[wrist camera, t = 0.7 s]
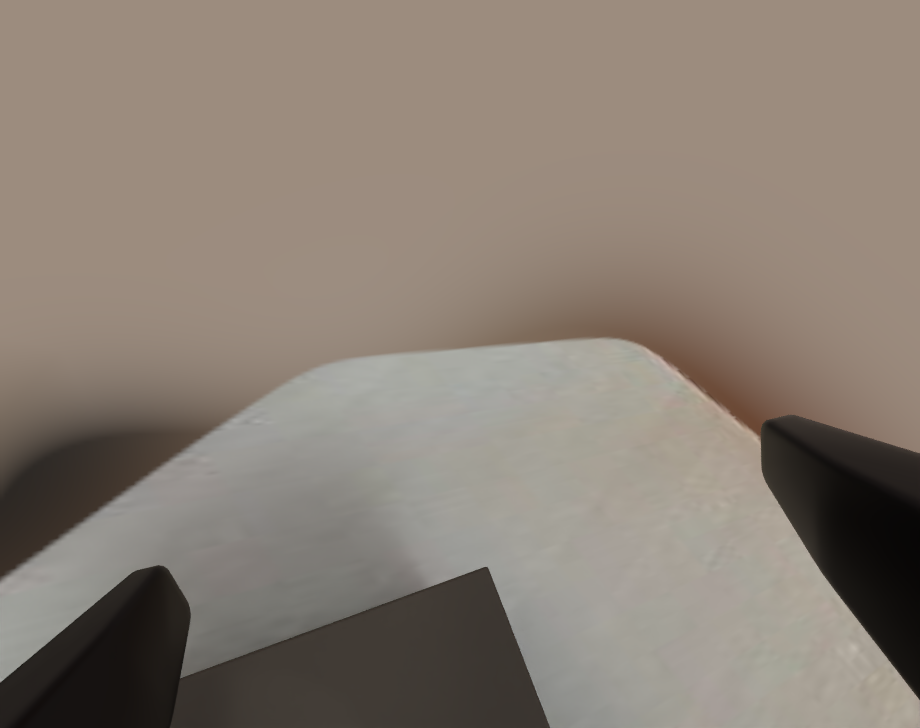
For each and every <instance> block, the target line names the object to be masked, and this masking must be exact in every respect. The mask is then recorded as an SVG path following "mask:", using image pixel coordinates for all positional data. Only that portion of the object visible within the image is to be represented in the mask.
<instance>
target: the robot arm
mask: <svg viewBox="0 0 920 728" xmlns="http://www.w3.org/2000/svg"><path fill="white" fill-rule="evenodd" d="M761 466H762V473H763V476H764V479H765V481H766V483H767V485H768V487H769V488H770V490H771V491H772V493H773V495H774V496H775V498H776V500H777V501H778V503H779V505H780V506H781V508H782V509H783V511H784V513H785V514H786V516H787V518H788V519H789V521H790V522H791V524H792V526H793V527H794V529H795V531H796V532H797V534H798V535H799V537H800V539H801V540H802V542H803V544H804V545H805V547H806V548H807V550H808V552H809V553H810V555H811V557H812V558H813V560H814V561H815V563H816V564H817V566H818V567H819V569H820V571H821V572H822V574H823V575H824V576H825V578H826V579H827V580H828V582H829V583H830V584H831V586H832V587H833V588H834V590H835V591H836V592H837V594H838V595H839V596H840V598H841V599H842V600H843V601H844V603H845V604H846V605H847V607H848V608H849V609H850V611H851V612H852V613H853V614H854V616H855V617H856V618H857V620H858V621H859V622H860V623H861V625H862V626H863V627H864V629H865V630H866V631H867V632H868V634H869V635H870V636H871V638H872V639H873V640H874V642H875V643H876V644H877V645H878V647H879V648H880V649H881V651H882V652H883V653H884V654H885V656H886V657H887V658H888V660H889V661H890V662H891V664H892V665H893V666H894V667H895V669H896V670H897V671H898V673H899V674H900V675H901V676H902V678H903V679H904V680H905V682H906V683H907V684H908V686H909V687H910V688H911V689H912V691H913V692H914V693H915V695H916V696H917V697H918V698H919V700H920V453H916V452H913V451H910V450H907V449H903V448H900V447H896V446H893V445H890V444H887V443H884V442H881V441H877V440H874V439H871V438H868V437H864V436H861V435H858V434H854V433H851V432H848V431H844V430H842V429H838V428H835V427H832V426H829V425H825V424H822V423H819V422H815V421H812V420H809V419H805V418H802V417H799V416H796V415H787V416H783V417H778V418H774V419H770V420H767V421H765V422H764V423H763V424H762V428H761ZM190 618H191V613H190V607H189V604H188V602H187V600H186V598H185V596H184V595H183V593H182V591H181V590H180V588H179V586H178V585H177V583H176V581H175V580H174V578H173V576H172V575H171V573H170V572H169V570H168V569H167V568H165V567H164V566H159V565H158V566H153V567H149V568H145V569H141V570H137V571H135V572H133V573H131V574H130V575H129V576H128V577H126V578H125V579H124V580H123V581H122V582H120V583H119V584H118V585H117V586H116V587H114V588H113V589H112V590H111V591H110V592H108V593H107V594H106V595H105V596H104V597H102V598H101V599H100V600H99V601H98V602H96V603H95V604H94V605H93V606H92V607H90V608H89V609H88V610H87V611H86V612H84V613H83V614H82V615H81V616H80V617H78V618H77V619H76V620H75V621H74V622H72V623H71V624H70V625H69V626H68V627H66V628H65V629H64V630H63V631H62V632H60V633H59V634H58V635H57V636H56V637H54V638H53V639H52V640H51V641H50V642H48V643H47V644H46V645H45V646H44V647H42V648H41V649H40V650H39V651H38V652H36V653H35V654H34V655H33V656H32V657H31V658H29V659H28V660H27V661H26V662H25V663H23V664H22V665H21V666H20V667H19V668H17V669H16V670H15V671H14V672H13V673H11V674H10V675H9V676H8V677H7V678H5V679H4V680H3V681H2V682H1V683H0V728H170V726H171V722H172V717H173V712H174V708H175V703H176V697H177V692H178V686H179V681H180V675H181V669H182V664H183V658H184V653H185V647H186V642H187V636H188V630H189V625H190Z"/></svg>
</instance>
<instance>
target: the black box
mask: <svg viewBox="0 0 920 728" xmlns="http://www.w3.org/2000/svg"><path fill="white" fill-rule="evenodd" d="M170 728H550V727H549V724H548V721H547V719H546V716H545V714H544V711H543V708H542V706H541V703H540V701H539V698H538V696H537V693H536V690H535V688H534V685H533V683H532V680H531V677H530V675H529V672H528V670H527V667H526V665H525V662H524V659H523V657H522V654H521V652H520V649H519V646H518V644H517V641H516V639H515V636H514V634H513V631H512V628H511V626H510V623H509V621H508V618H507V615H506V613H505V610H504V608H503V605H502V603H501V600H500V597H499V595H498V592H497V590H496V587H495V584H494V582H493V579H492V577H491V574H490V572H489V569H488V567H484V568H481V569H478V570H475V571H473V572H470V573H467V574H464V575H462V576H459V577H456V578H454V579H451V580H448V581H445V582H443V583H440V584H437V585H434V586H432V587H429V588H426V589H423V590H421V591H418V592H415V593H412V594H410V595H407V596H404V597H402V598H399V599H396V600H393V601H391V602H388V603H385V604H382V605H380V606H377V607H374V608H371V609H369V610H366V611H363V612H361V613H358V614H355V615H352V616H350V617H347V618H344V619H341V620H339V621H336V622H333V623H330V624H328V625H325V626H322V627H319V628H317V629H314V630H311V631H309V632H306V633H303V634H300V635H298V636H295V637H292V638H289V639H287V640H284V641H281V642H278V643H276V644H273V645H270V646H268V647H265V648H262V649H259V650H257V651H254V652H251V653H248V654H246V655H243V656H240V657H237V658H235V659H232V660H229V661H227V662H224V663H221V664H218V665H216V666H213V667H210V668H207V669H205V670H202V671H199V672H196V673H194V674H191V675H188V676H185V677H183V678H180V681H179V686H178V692H177V697H176V703H175V708H174V712H173V717H172V722H171V726H170Z"/></svg>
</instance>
